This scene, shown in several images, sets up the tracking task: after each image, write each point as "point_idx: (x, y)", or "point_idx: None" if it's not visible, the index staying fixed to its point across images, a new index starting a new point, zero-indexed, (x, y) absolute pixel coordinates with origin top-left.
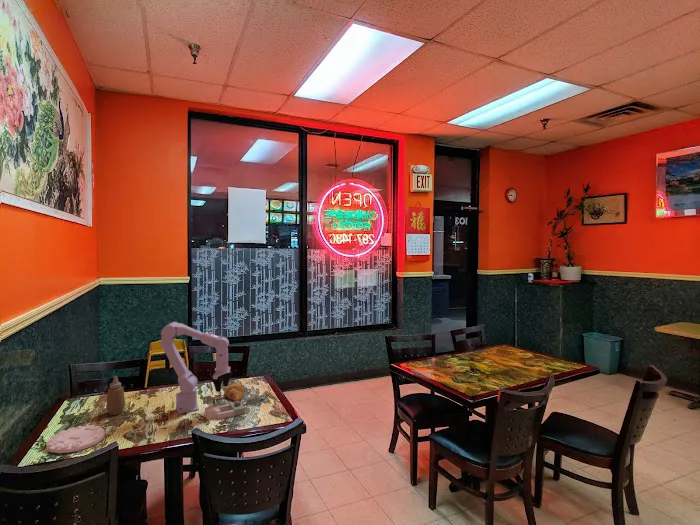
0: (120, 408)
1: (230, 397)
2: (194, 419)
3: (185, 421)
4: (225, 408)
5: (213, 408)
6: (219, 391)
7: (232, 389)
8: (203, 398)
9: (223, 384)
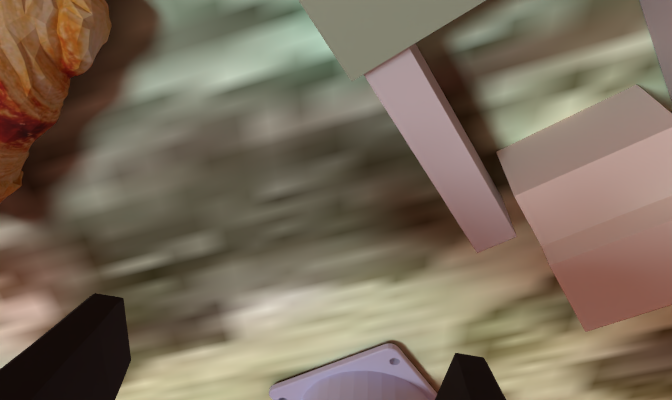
0: None
1: (44, 132)
2: (626, 320)
3: (652, 368)
4: (438, 89)
5: (652, 237)
6: (487, 371)
7: None
8: None
9: (110, 395)
